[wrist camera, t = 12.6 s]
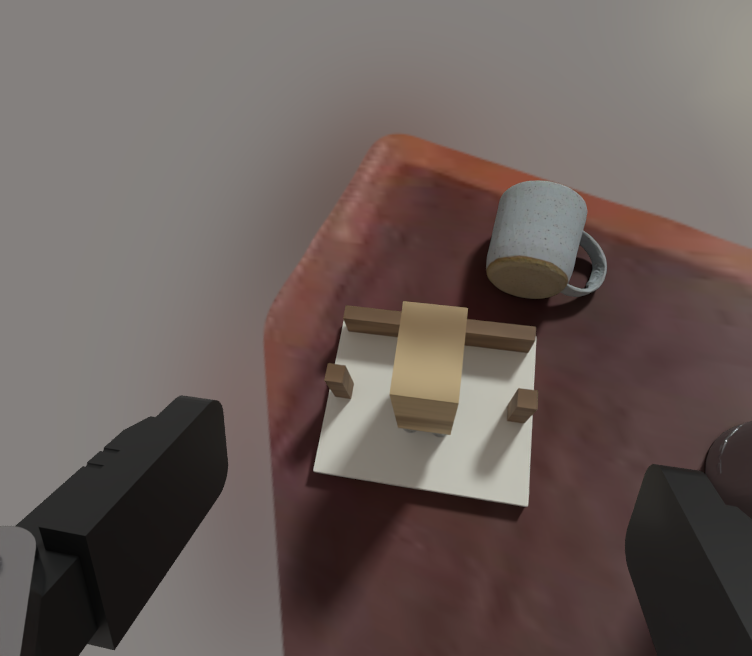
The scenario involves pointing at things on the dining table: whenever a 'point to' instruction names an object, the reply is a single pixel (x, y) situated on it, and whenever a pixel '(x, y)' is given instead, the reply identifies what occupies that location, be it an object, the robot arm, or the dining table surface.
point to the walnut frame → (476, 336)
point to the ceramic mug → (541, 242)
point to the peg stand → (423, 449)
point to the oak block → (428, 367)
